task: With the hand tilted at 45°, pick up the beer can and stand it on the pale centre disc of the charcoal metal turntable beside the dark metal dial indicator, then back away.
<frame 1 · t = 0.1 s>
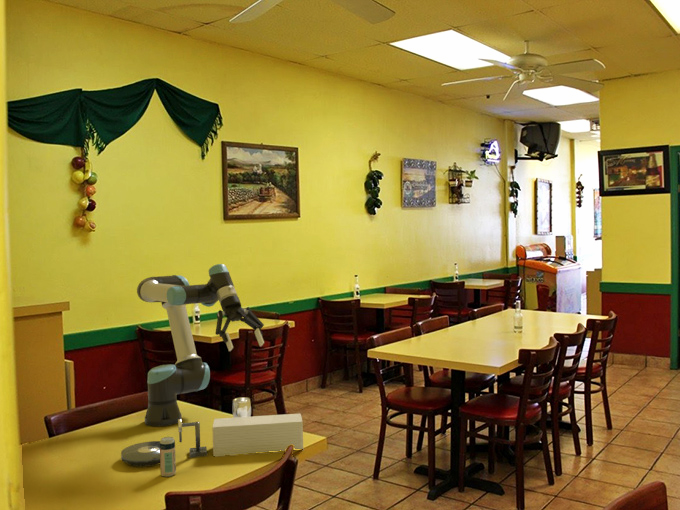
hand: (247, 346, 240), 36 cm above the table, tool tilted 35°, fingers open, 13 cm apart
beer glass: (242, 438, 244), on the table
turntable: (148, 452, 223), point 3 cm above the table, hinge at 0.0°
turntable base: (148, 459, 223), on the table
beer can: (168, 475, 208), on the table
white rectangular block: (258, 449, 232), on the table
dial indicator: (198, 454, 227), on the table
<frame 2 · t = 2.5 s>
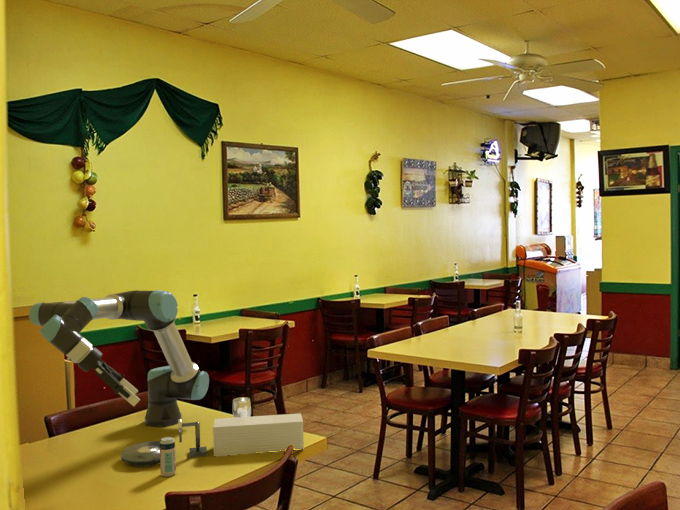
hand: (136, 398, 204), 26 cm above the table, tool tilted 45°, fingers open, 13 cm apart
nothing on the table moved.
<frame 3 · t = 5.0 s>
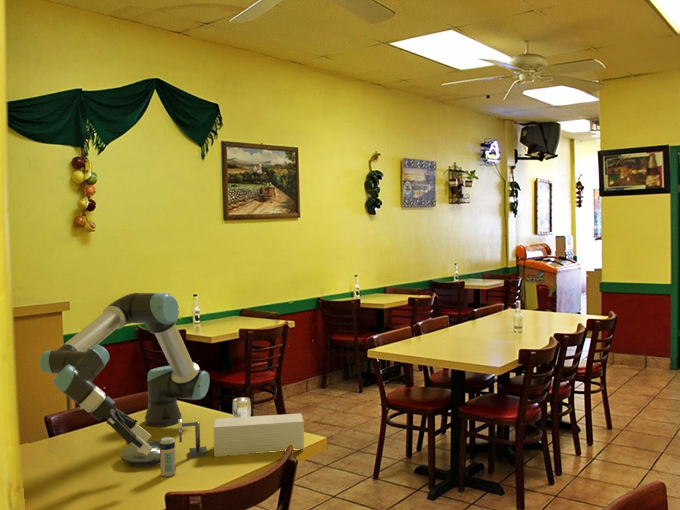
hand: (149, 445, 205), 11 cm above the table, tool tilted 45°, fingers open, 13 cm apart
nothing on the table moved.
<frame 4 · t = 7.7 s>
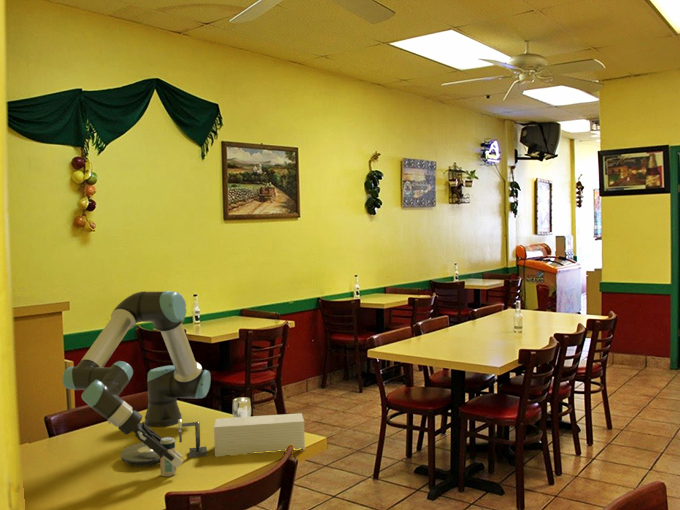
hand: (179, 461, 209), 4 cm above the table, tool tilted 45°, fingers closed on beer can, 5 cm apart
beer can: (168, 475, 208), on the table, touching gripper
everything else where it was.
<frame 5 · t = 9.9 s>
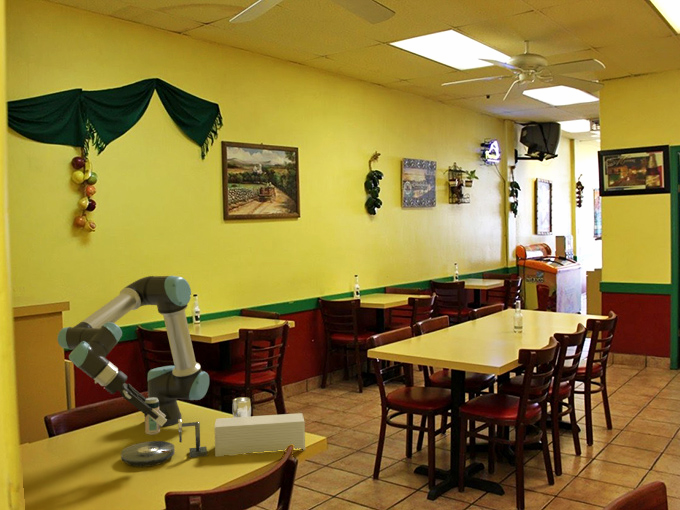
hand: (163, 420, 218), 15 cm above the table, tool tilted 45°, fingers closed on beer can, 5 cm apart
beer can: (152, 433, 217), point 11 cm above the table, touching gripper
everything else where it was.
when the fingers open (8 cm above the table, at t = 12.3 s): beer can stays where it is, resting on turntable.
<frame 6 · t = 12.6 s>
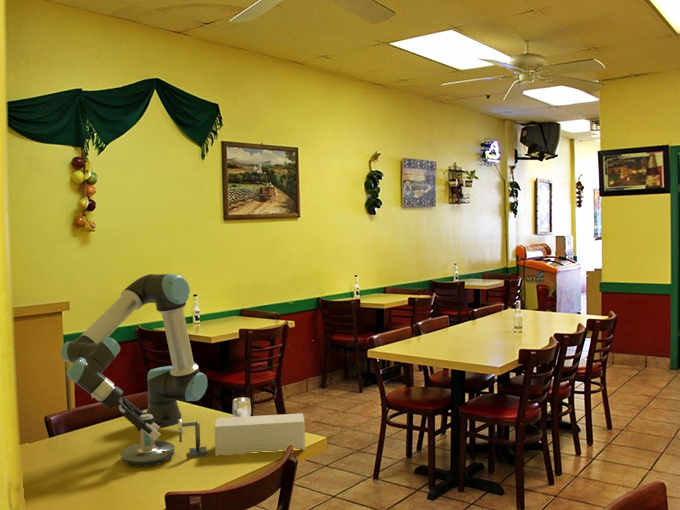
hand: (157, 433, 224), 9 cm above the table, tool tilted 45°, fingers open, 8 cm apart
turntable: (148, 452, 223), point 3 cm above the table, hinge at 0.0°, touching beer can
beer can: (147, 449, 223), point 3 cm above the table, touching turntable
everything else where it was.
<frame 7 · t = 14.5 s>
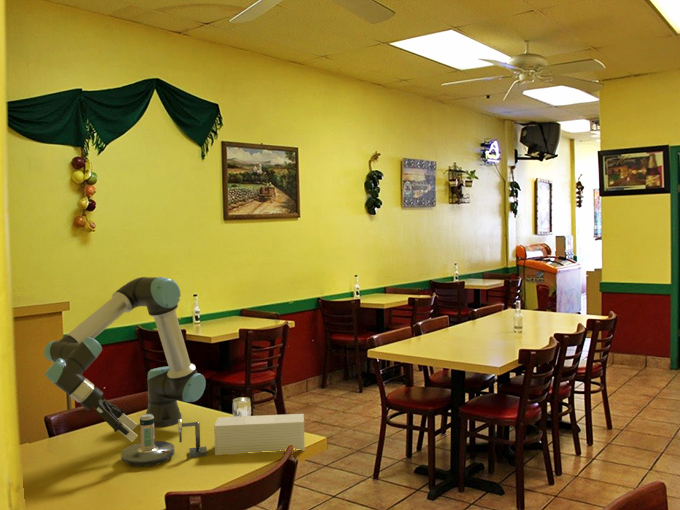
hand: (134, 433, 221), 10 cm above the table, tool tilted 45°, fingers open, 13 cm apart
nothing on the table moved.
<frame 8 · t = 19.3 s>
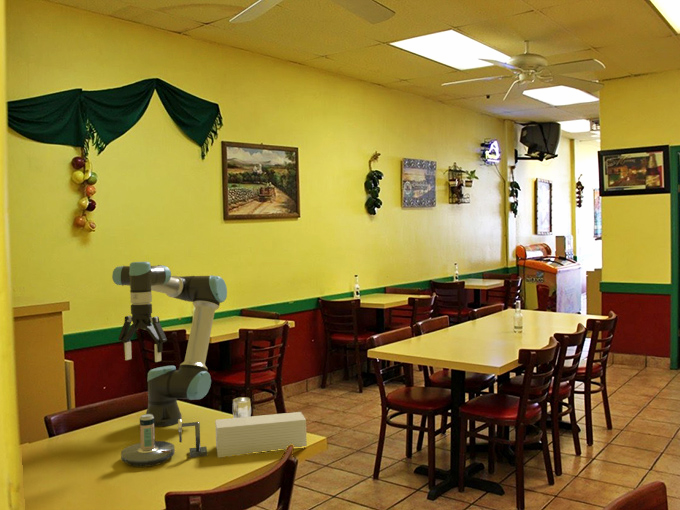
hand: (143, 360, 235), 33 cm above the table, tool pointing down, fingers open, 13 cm apart
at the end: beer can 0.1 cm off-centre on the turntable, point 3.4 cm above the turntable's base; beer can tilted 0°; the gripper is holding nothing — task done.
